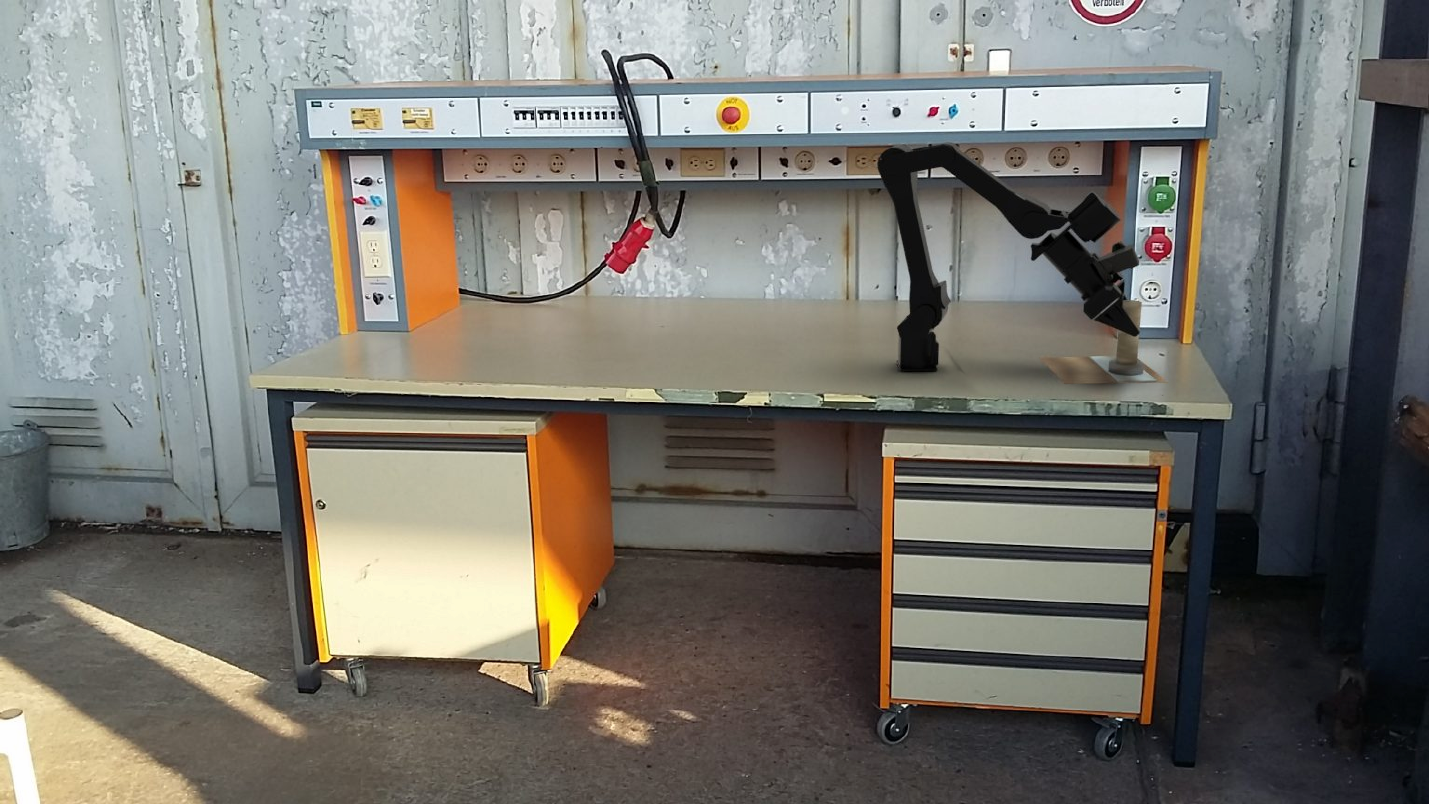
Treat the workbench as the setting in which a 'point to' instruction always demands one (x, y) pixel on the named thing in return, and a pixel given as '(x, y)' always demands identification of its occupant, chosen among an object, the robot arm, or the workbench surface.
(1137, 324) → the post
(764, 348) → the workbench surface
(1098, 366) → the board
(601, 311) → the workbench surface
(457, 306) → the workbench surface
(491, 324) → the workbench surface
